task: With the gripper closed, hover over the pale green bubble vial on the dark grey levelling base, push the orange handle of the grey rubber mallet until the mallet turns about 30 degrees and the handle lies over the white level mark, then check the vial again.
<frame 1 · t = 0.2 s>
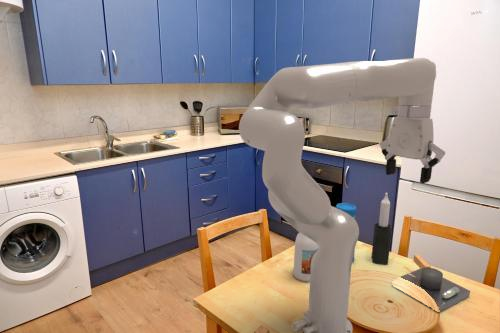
hand: (406, 178, 91), 36 cm above the table, tool pointing down, fingers open, 9 cm apart
levelling base: (429, 291, 103), on the table
beverage bottle: (342, 260, 122), on the table
grey rubber mallet: (425, 271, 106), point 5 cm above the table, hinge at 60.0°
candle: (379, 261, 121), on the table
milk bottle: (305, 276, 111), on the table
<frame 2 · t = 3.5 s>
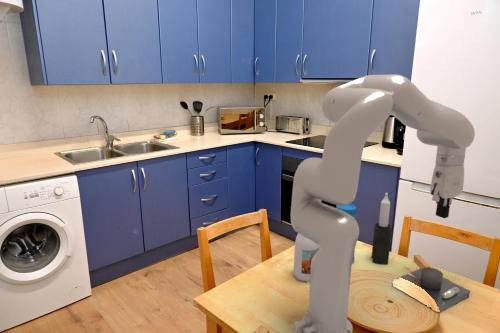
hand: (441, 216, 109), 20 cm above the table, tool pointing down, fingers closed
nothing on the table moved.
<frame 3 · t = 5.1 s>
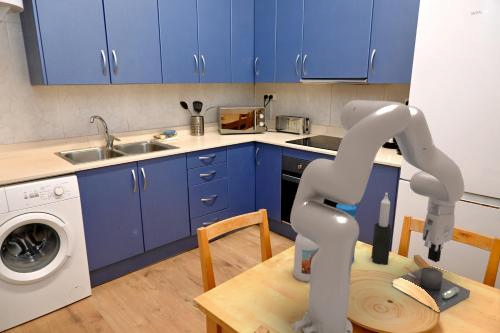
hand: (433, 259, 114), 4 cm above the table, tool pointing down, fingers closed
nothing on the table moved.
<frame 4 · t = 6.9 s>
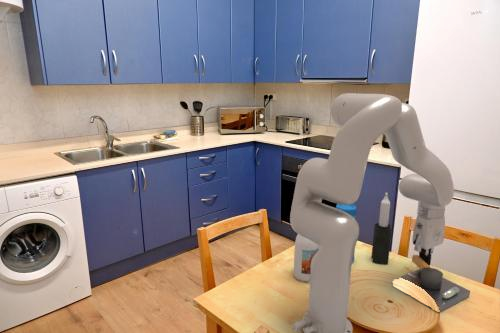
hand: (424, 264, 112), 4 cm above the table, tool pointing down, fingers closed
grey rubber mallet: (424, 271, 106), point 5 cm above the table, hinge at 62.8°, touching gripper
everything else where it was.
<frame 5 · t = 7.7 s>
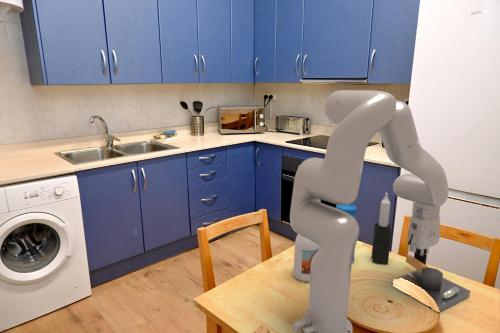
hand: (419, 264, 111), 4 cm above the table, tool pointing down, fingers closed
grey rubber mallet: (422, 271, 106), point 5 cm above the table, hinge at 76.1°, touching gripper
everything else where it was.
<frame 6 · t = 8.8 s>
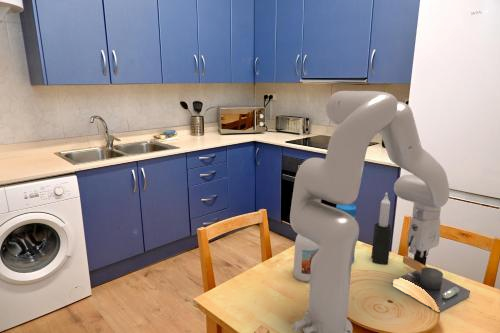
hand: (419, 266, 111), 3 cm above the table, tool pointing down, fingers closed
grey rubber mallet: (421, 271, 106), point 5 cm above the table, hinge at 83.8°
everything else where it was.
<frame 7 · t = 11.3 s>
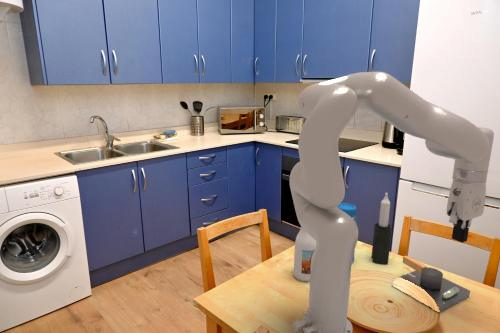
hand: (459, 240, 94), 19 cm above the table, tool pointing down, fingers closed
grey rubber mallet: (421, 271, 106), point 5 cm above the table, hinge at 84.2°
everything else where it was.
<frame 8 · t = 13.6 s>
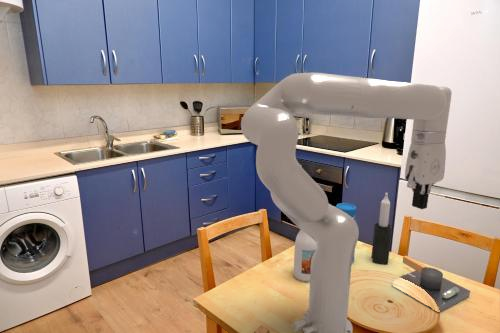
hand: (419, 207, 90), 29 cm above the table, tool pointing down, fingers closed
nothing on the table moved.
at the end: grey rubber mallet at +84° (first picture: +60°); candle moved 0.2 cm from its start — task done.
